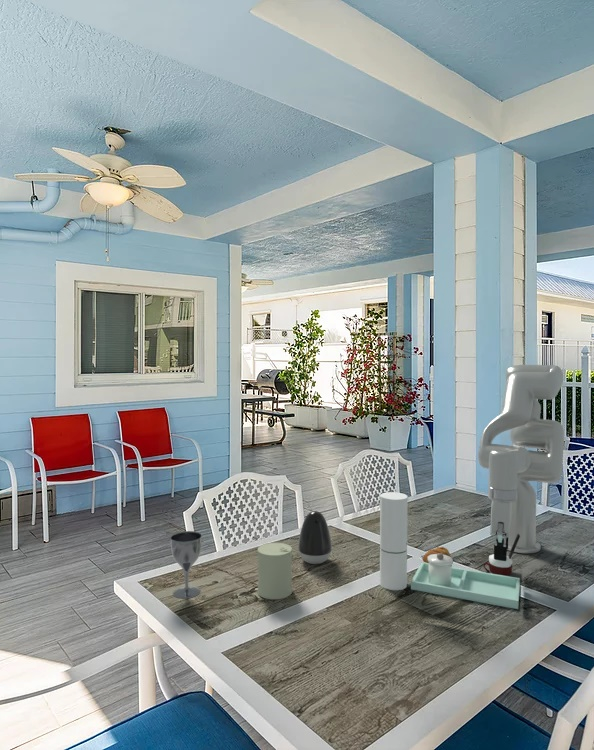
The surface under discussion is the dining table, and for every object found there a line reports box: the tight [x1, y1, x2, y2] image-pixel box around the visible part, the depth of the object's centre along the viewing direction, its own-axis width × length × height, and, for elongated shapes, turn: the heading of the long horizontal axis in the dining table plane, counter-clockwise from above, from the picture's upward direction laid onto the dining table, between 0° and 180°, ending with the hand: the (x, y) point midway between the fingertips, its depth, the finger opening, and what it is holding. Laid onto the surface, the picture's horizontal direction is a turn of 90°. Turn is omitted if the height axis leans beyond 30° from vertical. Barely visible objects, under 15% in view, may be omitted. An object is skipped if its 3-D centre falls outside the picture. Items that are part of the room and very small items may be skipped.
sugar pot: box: [428, 553, 454, 587], centre depth 142 cm, size 7×7×8 cm
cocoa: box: [483, 534, 520, 577], centre depth 148 cm, size 10×6×12 cm, turn 56°
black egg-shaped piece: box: [297, 510, 333, 565], centre depth 159 cm, size 10×10×15 cm
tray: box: [410, 561, 521, 610], centre depth 139 cm, size 14×26×3 cm, turn 66°
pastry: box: [422, 546, 453, 563], centre depth 158 cm, size 9×7×4 cm
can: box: [256, 542, 293, 600], centre depth 139 cm, size 9×9×12 cm
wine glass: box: [170, 530, 203, 600], centre depth 138 cm, size 8×8×15 cm
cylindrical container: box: [379, 491, 408, 591], centre depth 140 cm, size 7×7×25 cm
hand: (501, 554), depth 148 cm, fingers open, 9 cm apart
